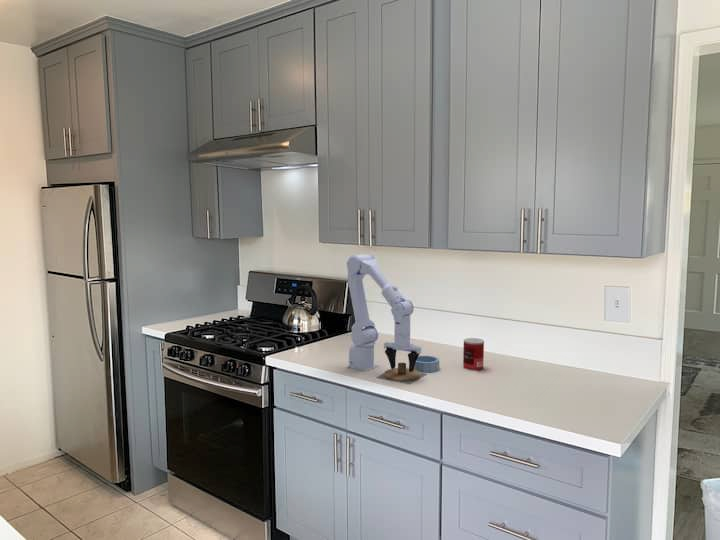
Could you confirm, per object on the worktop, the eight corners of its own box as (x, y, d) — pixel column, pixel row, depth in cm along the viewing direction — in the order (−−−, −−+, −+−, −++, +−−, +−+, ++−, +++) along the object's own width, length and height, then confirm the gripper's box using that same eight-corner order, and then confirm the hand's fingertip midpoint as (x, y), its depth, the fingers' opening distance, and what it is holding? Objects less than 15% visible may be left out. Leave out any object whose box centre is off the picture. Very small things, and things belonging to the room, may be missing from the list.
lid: (377, 377, 200) (377, 365, 199) (394, 368, 211) (394, 357, 210) (409, 383, 193) (409, 370, 192) (425, 374, 204) (425, 362, 203)
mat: (375, 378, 200) (375, 377, 200) (394, 369, 211) (394, 368, 211) (410, 385, 192) (410, 384, 192) (427, 375, 204) (427, 374, 204)
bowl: (407, 370, 210) (407, 360, 209) (419, 363, 219) (419, 354, 218) (431, 374, 204) (432, 364, 204) (443, 367, 213) (443, 357, 213)
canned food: (483, 365, 216) (484, 338, 215) (482, 371, 208) (483, 343, 207) (464, 364, 218) (464, 337, 217) (462, 370, 210) (462, 342, 209)
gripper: (379, 333, 200) (379, 369, 202) (415, 338, 193) (414, 375, 194) (389, 329, 206) (389, 364, 208) (424, 334, 199) (423, 370, 200)
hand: (402, 369), depth 201 cm, fingers open, 7 cm apart
